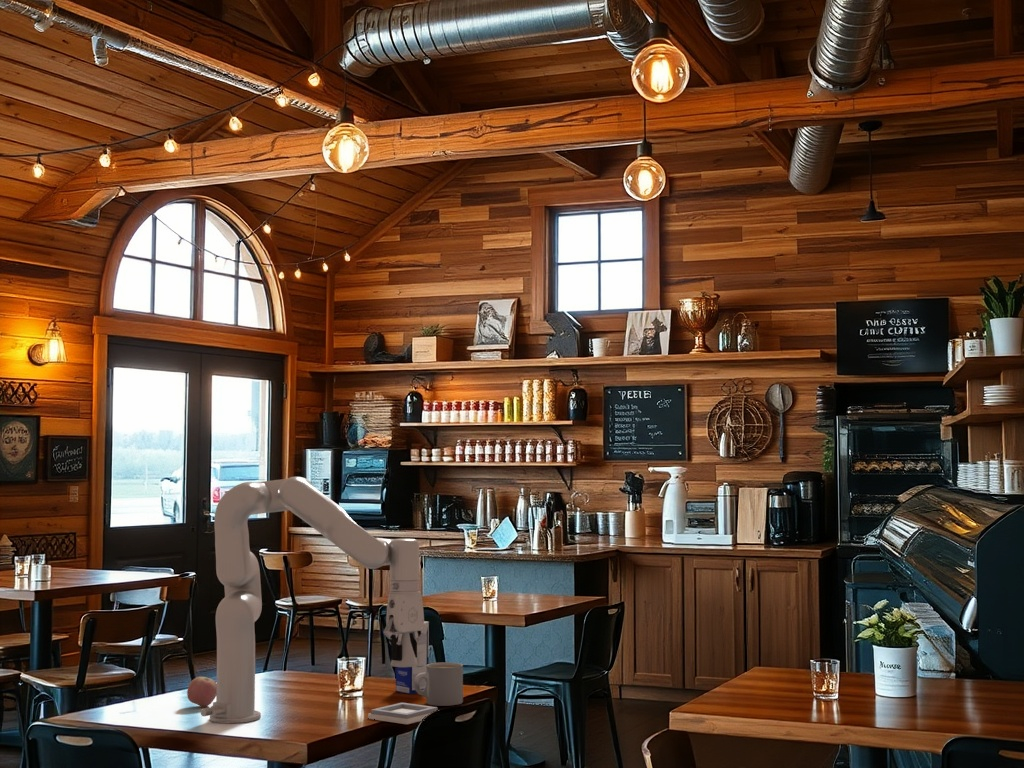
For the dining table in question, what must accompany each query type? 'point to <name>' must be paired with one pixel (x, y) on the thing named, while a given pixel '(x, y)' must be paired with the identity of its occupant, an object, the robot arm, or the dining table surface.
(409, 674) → the milk carton
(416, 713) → the socket board
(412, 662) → the flask
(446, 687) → the coffee mug
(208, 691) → the apple
